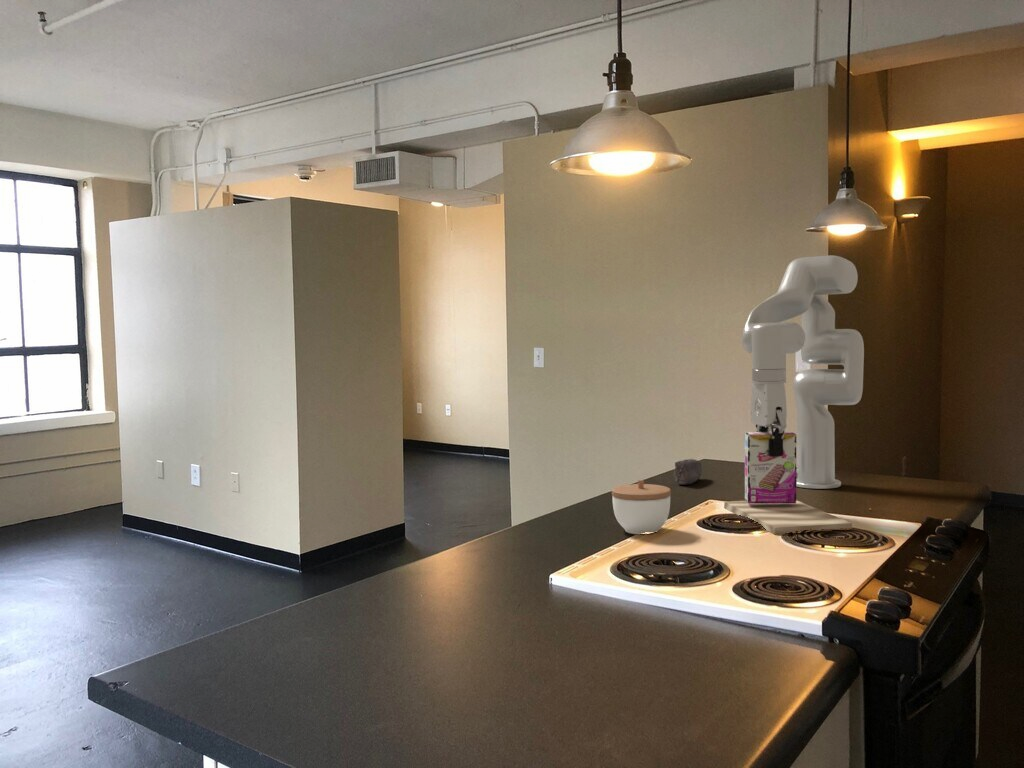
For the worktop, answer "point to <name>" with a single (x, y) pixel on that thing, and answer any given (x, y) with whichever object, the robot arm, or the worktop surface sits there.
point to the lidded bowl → (641, 506)
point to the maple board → (787, 516)
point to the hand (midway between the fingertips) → (770, 453)
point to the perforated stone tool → (687, 471)
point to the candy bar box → (769, 470)
